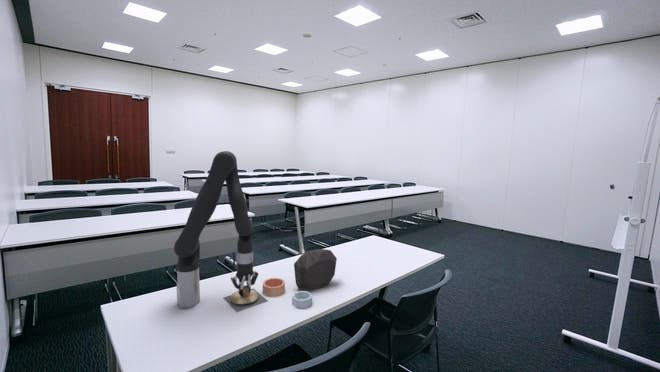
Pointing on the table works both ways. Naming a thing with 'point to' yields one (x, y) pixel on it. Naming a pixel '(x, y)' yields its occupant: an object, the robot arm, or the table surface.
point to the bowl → (273, 287)
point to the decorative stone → (315, 269)
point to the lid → (244, 296)
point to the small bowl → (302, 299)
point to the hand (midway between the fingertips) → (244, 294)
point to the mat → (244, 306)
